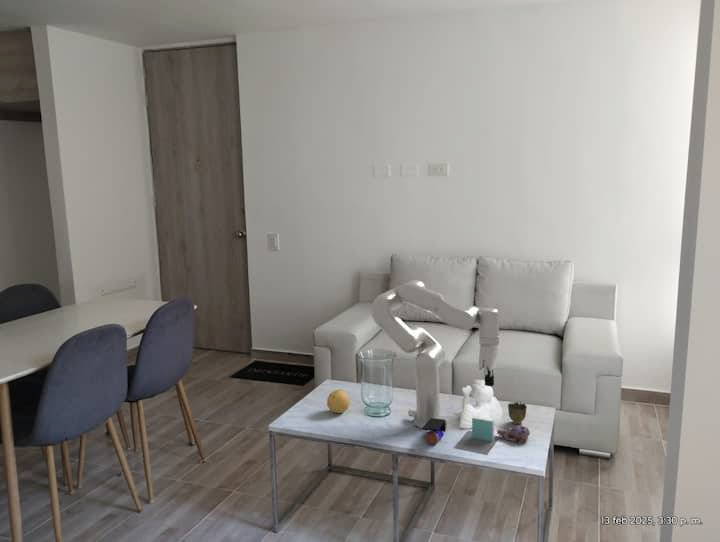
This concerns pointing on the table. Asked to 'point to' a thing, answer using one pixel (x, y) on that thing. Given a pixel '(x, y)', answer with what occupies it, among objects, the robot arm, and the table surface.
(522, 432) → the skull
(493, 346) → the robot arm
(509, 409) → the cup
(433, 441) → the figurine character
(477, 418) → the tile
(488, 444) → the mat
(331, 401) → the orange fruit
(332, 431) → the table surface
